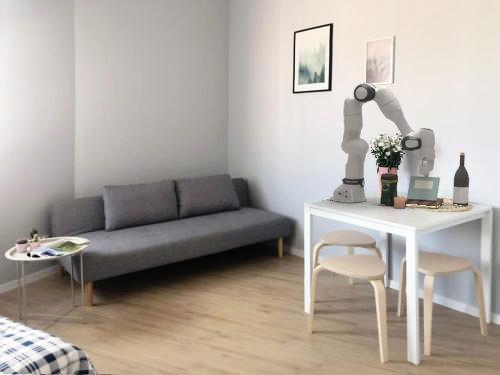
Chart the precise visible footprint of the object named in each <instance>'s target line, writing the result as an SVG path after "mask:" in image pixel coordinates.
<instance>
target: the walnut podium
mask: <svg viewBox="0 0 500 375" xmlns="http://www.w3.org/2000/svg"><path fill="white" fill-rule="evenodd" d="M444 201H445V200H444V198H439V197H437V201H426V200H413V199H407V198H406V199H405V205H406V204H417V205H426V206H436V207H437V206H439V205H441V204H442V203H443V204H444ZM443 204H442V205H443ZM442 205H441V206H442Z"/></svg>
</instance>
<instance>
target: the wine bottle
mask: <svg viewBox="0 0 500 375" xmlns="http://www.w3.org/2000/svg"><path fill="white" fill-rule="evenodd" d="M465 160H466V155H465V152H463V151H462V152H460V154H459V166H458V167H457V170H456V171H455V174H454V175H453V188H452V190H453V191H452V205H453V204H457V205H464V206H463V207H465V206H466V205H467V206H469V193H470V192H469V190H470V176H469V172H468V170H467V169H466V167H465ZM467 206H466V207H467Z"/></svg>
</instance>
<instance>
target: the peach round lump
mask: <svg viewBox="0 0 500 375" xmlns="http://www.w3.org/2000/svg"><path fill="white" fill-rule="evenodd" d="M405 200H406V197H405V196H401V195H400V196H398V195H397V197H394V206H393V207H394V209H399V210H400V209H406V206H405Z"/></svg>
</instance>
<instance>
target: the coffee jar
mask: <svg viewBox="0 0 500 375" xmlns="http://www.w3.org/2000/svg"><path fill="white" fill-rule="evenodd" d="M398 182H399V176H398V174H396V173H391V172H387V173H386V172H385V173H382V174H381V175H380V183H381V184H380V185H381V191H380V205H383V206H388V207H389V206H393V207H394V197H397V196H398Z"/></svg>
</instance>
